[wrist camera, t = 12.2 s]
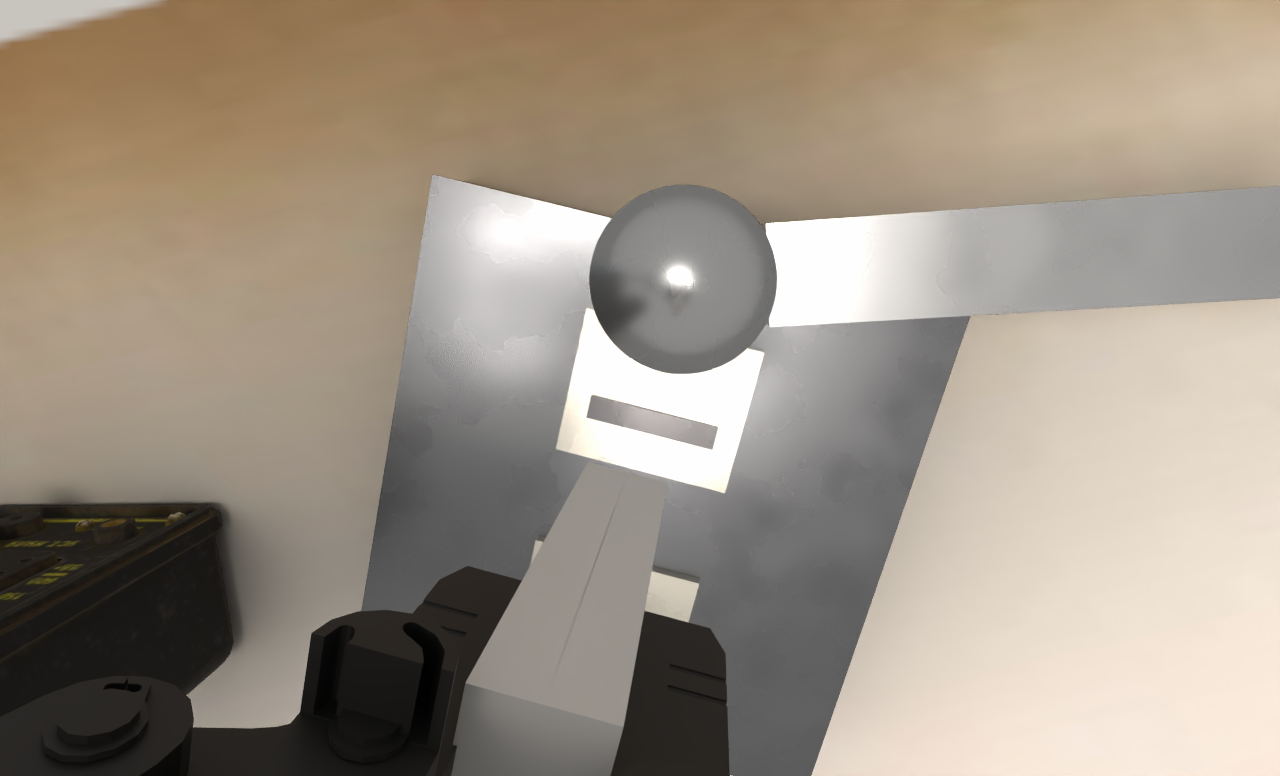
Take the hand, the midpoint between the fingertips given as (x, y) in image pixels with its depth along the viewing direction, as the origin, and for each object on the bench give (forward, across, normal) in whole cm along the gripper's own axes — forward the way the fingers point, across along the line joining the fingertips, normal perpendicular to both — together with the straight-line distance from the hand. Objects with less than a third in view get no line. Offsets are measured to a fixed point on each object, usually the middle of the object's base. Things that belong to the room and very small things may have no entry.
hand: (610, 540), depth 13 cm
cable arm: (+8, +8, +7) cm, 13 cm away
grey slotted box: (+14, 0, -4) cm, 15 cm away
